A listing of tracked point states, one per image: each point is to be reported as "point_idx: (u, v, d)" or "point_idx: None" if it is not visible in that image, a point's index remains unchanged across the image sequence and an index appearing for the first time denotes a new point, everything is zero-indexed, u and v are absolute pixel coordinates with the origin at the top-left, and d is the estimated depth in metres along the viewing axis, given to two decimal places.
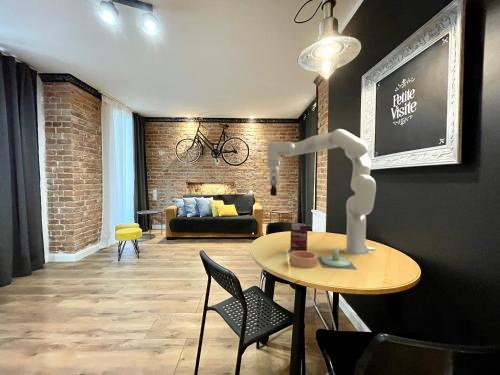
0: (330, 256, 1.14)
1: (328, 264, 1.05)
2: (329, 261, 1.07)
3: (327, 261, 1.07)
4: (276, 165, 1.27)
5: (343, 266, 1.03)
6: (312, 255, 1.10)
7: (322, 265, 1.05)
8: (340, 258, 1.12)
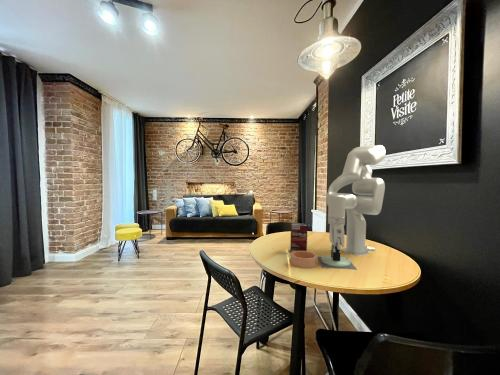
0: (330, 256, 1.14)
1: (328, 264, 1.05)
2: (329, 261, 1.07)
3: (327, 261, 1.07)
4: (341, 223, 1.05)
5: (343, 266, 1.03)
6: (312, 255, 1.10)
7: (322, 265, 1.05)
8: (340, 258, 1.12)
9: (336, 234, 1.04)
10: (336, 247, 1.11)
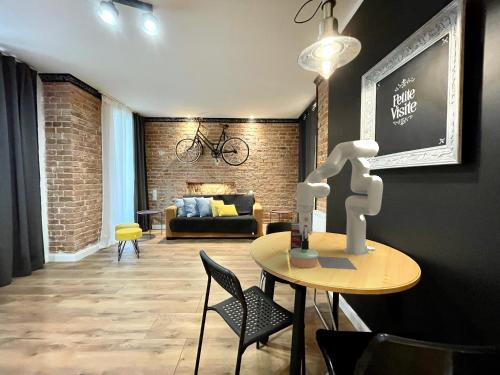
0: (300, 248, 1.13)
1: (295, 256, 1.04)
2: (297, 253, 1.06)
3: (295, 253, 1.06)
4: (308, 211, 1.04)
5: (310, 258, 1.02)
6: None
7: (322, 265, 1.05)
8: (309, 250, 1.10)
9: (303, 222, 1.03)
10: (305, 234, 1.12)
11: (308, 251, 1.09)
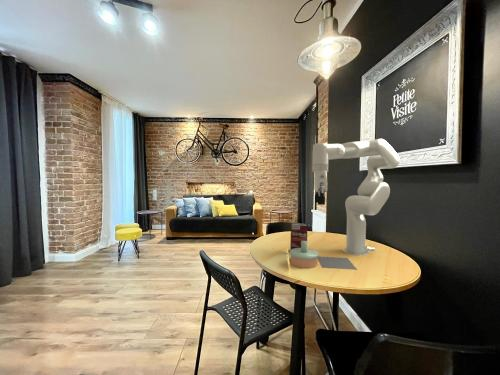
0: (300, 248, 1.13)
1: (295, 256, 1.04)
2: (297, 253, 1.06)
3: (295, 253, 1.06)
4: (324, 169, 1.10)
5: (310, 258, 1.02)
6: None
7: (322, 265, 1.05)
8: (309, 250, 1.10)
9: (319, 179, 1.09)
10: None
11: (308, 251, 1.09)
